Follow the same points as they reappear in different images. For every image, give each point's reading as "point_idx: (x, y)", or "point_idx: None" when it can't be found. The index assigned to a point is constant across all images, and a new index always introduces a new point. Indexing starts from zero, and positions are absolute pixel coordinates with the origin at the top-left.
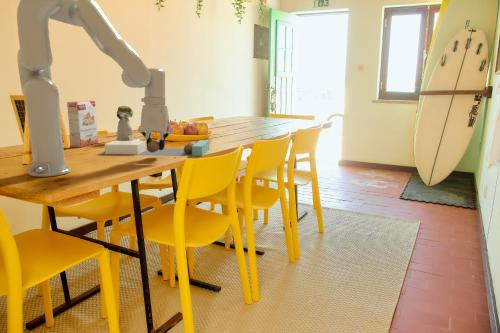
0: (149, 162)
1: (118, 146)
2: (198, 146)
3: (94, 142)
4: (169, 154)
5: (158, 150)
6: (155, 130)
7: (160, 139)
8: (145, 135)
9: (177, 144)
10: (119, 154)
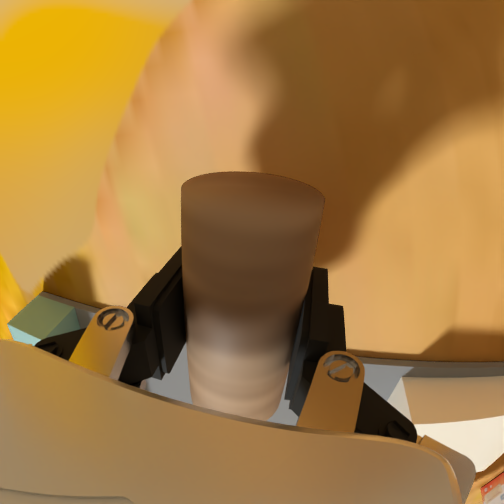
0: (302, 167)
1: (501, 407)
2: (18, 328)
3: (492, 483)
4: None
5: None
6: (111, 401)
7: (149, 332)
8: (362, 408)
9: None
10: (487, 371)
